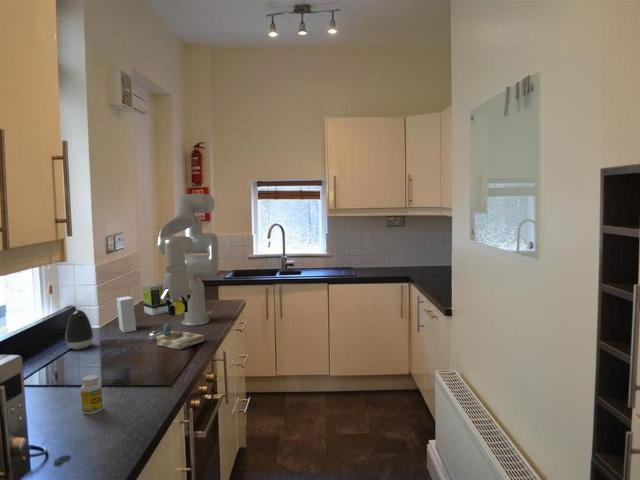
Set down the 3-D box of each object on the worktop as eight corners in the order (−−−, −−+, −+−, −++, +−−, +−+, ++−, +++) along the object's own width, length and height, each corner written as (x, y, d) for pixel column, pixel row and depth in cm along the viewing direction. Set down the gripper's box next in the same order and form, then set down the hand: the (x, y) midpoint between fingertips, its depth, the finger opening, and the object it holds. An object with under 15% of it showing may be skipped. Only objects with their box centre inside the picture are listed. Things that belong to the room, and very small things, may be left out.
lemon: (171, 314, 205) (170, 301, 205) (185, 313, 206) (184, 300, 206) (171, 316, 198) (170, 302, 198) (185, 315, 199) (184, 301, 200)
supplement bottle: (93, 405, 145) (91, 373, 144) (107, 408, 143) (105, 375, 142) (77, 412, 140) (75, 379, 139) (91, 416, 138) (88, 382, 137)
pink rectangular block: (170, 337, 213) (170, 330, 213) (177, 338, 211) (176, 331, 211) (166, 338, 211) (165, 331, 211) (172, 340, 209) (172, 333, 209)
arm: (147, 343, 205) (146, 326, 204) (172, 335, 216) (171, 319, 215) (179, 349, 195) (178, 332, 194) (204, 340, 206) (203, 324, 205)
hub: (156, 336, 216) (155, 328, 215) (163, 337, 213) (163, 330, 213) (146, 339, 212) (146, 331, 211) (154, 340, 209) (153, 333, 209)
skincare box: (136, 330, 226) (134, 298, 224) (122, 333, 222) (120, 300, 221) (132, 327, 233) (130, 295, 231) (118, 329, 229) (116, 297, 228)
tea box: (170, 307, 272) (169, 280, 270) (179, 310, 264) (178, 282, 263) (143, 312, 261) (142, 284, 260) (152, 315, 254) (150, 286, 253)
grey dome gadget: (72, 353, 195) (69, 314, 194) (62, 348, 202) (59, 311, 201) (98, 346, 203) (96, 309, 201) (87, 342, 210) (85, 306, 208)
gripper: (186, 265, 210) (188, 308, 212) (151, 271, 196) (154, 317, 197) (198, 266, 206) (200, 310, 207) (164, 272, 192) (167, 319, 193)
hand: (178, 313), depth 202 cm, fingers closed on lemon, 5 cm apart
